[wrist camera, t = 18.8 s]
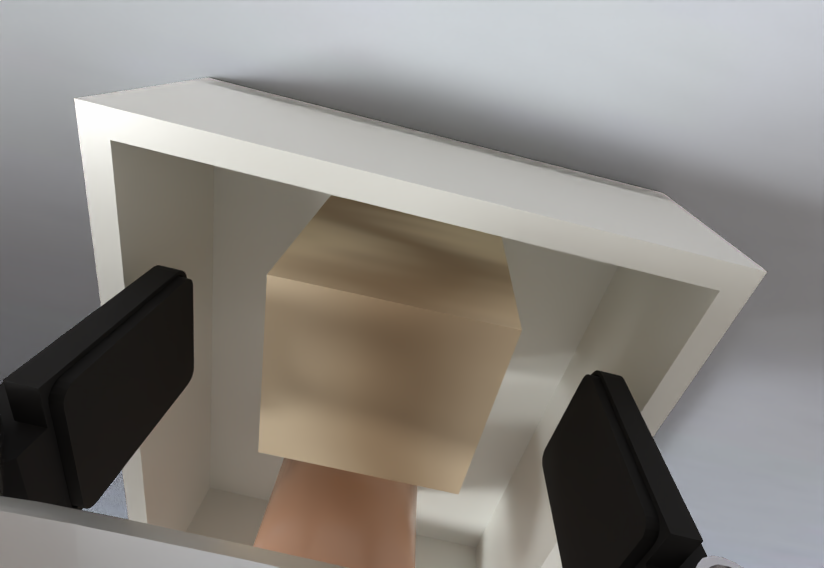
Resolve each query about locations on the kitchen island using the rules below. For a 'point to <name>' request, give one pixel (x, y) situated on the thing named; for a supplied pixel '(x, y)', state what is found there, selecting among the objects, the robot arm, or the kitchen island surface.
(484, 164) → the tote
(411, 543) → the cylinder
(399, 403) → the cube
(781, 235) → the kitchen island surface
